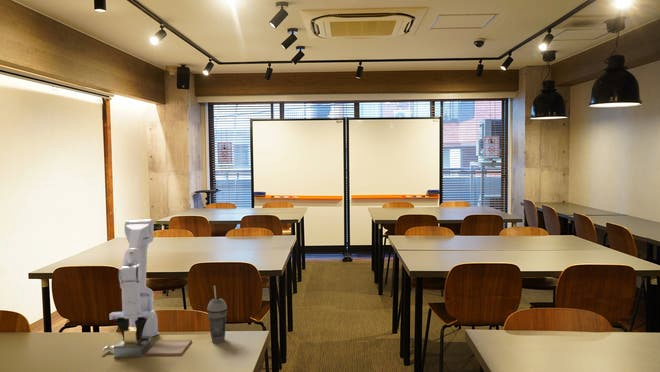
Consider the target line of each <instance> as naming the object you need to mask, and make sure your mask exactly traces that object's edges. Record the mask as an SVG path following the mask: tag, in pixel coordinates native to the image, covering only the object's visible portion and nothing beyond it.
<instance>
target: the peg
mask: <svg viewBox="0 0 660 372" xmlns="http://www.w3.org/2000/svg"><path fill="white" fill-rule="evenodd" d="M140 343H141V339H140V340H137V329H136V327H130V326H128V328H127V329H126V330H125V331H124V344H140Z"/></svg>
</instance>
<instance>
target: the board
mask: <svg viewBox="0 0 660 372" xmlns="http://www.w3.org/2000/svg"><path fill="white" fill-rule="evenodd" d="M192 341H193V339H160V340H159V339H158V340H157V341H156V342H155V343H153V345H151V347H150V348H149V349H148V350H147V351H146V352H145V353H144V354H145V356H146V357H162V356H163V357H165V356H166V357H167V356H168V357H169V356H170V357H172V356H174V357H175V356H182V355H183V354H184V352H185V351H186V350H187V349H188V348H189V346H190V345H191V343H192Z"/></svg>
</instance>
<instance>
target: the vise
mask: <svg viewBox="0 0 660 372" xmlns="http://www.w3.org/2000/svg"><path fill="white" fill-rule="evenodd" d="M151 347H152V337H151V336H142V338H141V343H140V344H124V339H123V338H122V341H121V342H120V343H115V345H111V344H107V345H105V347H103V348H102V349H101V352H102V353H104V352H106V351H109V350H111V351H113V357H114V358H142V357H143V356H144V354H146V353H147V352H148V351H149V350H150V348H151Z"/></svg>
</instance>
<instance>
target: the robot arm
mask: <svg viewBox="0 0 660 372" xmlns="http://www.w3.org/2000/svg"><path fill="white" fill-rule="evenodd" d="M154 227H155V225H154V220H153V219H152V218H149V219H130V220H129V219H127V220H125V223H124V234H125V238H126V240H127V243H128V249H126V251H125V252H124V257H123V262H122V266H121V267H120V268H119V270H118V281H119V287H120V289H121V305H122V306H121V307H122V308H121V309H122V311H113V312H111V313H109V314H108V315H109V316H108V317H109V320H111V321H112V320H115V325H116V326H117V327H118V329H119V331H120V333H121V335H122V337H123V338H122V340H123V339H124V331H125V330H126V329H127V328H129V327H136V329H137V340H140V339H141V338H142V336H151V338H152V337H155V336H158V335H160V332H159V323H158V322H159V321H158V315H157V312H156V310H154V308H155V307H154V306H155V298H154V291H153V290H152V289H151V288H149V287H148V286H147V267H148V266H147V261H148V259H147V258H148V248H149V244H150V243H152V242H153V240H154V235H155V234H154V233H155V232H154V229H155V228H154Z"/></svg>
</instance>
